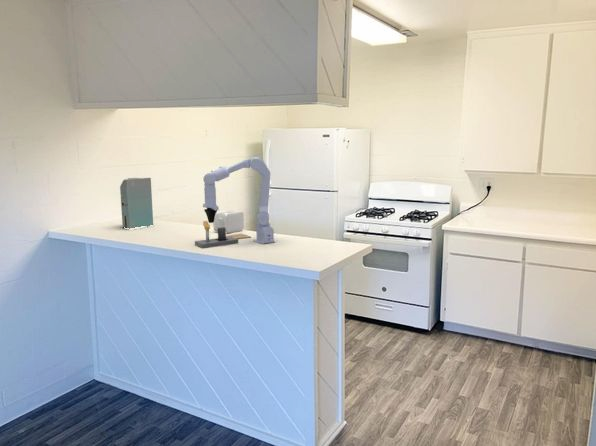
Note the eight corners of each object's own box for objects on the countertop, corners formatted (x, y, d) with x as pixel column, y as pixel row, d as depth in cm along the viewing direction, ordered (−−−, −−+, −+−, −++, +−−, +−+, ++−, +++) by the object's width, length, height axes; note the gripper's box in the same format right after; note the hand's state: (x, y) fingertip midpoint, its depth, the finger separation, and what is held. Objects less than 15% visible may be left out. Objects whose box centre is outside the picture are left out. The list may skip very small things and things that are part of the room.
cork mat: (250, 237, 267) (250, 236, 267) (232, 240, 261) (232, 238, 261) (241, 234, 276) (241, 233, 276) (223, 236, 270) (223, 235, 270)
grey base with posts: (238, 243, 253) (237, 227, 251) (202, 248, 242) (201, 231, 240) (230, 240, 260) (229, 225, 259) (195, 245, 249) (194, 229, 247)
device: (146, 225, 308) (143, 177, 303) (153, 226, 303) (150, 177, 298) (122, 228, 295) (119, 178, 290) (129, 230, 290) (126, 179, 285)
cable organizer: (225, 234, 276) (225, 214, 274) (212, 232, 283) (212, 212, 281) (244, 230, 288) (243, 211, 286) (231, 228, 294) (230, 209, 292)
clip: (210, 229, 246) (209, 225, 245) (204, 229, 245) (204, 225, 245) (207, 224, 258) (207, 221, 258) (202, 225, 258) (202, 221, 257)
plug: (227, 243, 252) (226, 228, 251) (220, 244, 250) (219, 229, 248) (223, 242, 255) (223, 227, 254) (216, 243, 253) (216, 228, 252)
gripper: (197, 195, 255) (198, 221, 258) (209, 198, 244) (210, 225, 246) (209, 194, 259) (210, 220, 262) (221, 197, 248) (222, 223, 250)
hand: (211, 222), depth 254 cm, fingers closed
